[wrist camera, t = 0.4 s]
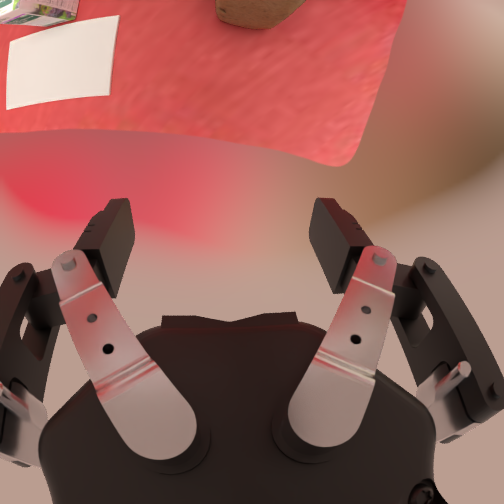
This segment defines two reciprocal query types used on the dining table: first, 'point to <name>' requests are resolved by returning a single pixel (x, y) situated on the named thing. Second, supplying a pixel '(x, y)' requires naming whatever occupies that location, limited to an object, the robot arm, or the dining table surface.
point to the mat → (62, 63)
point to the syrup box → (37, 12)
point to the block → (256, 12)
